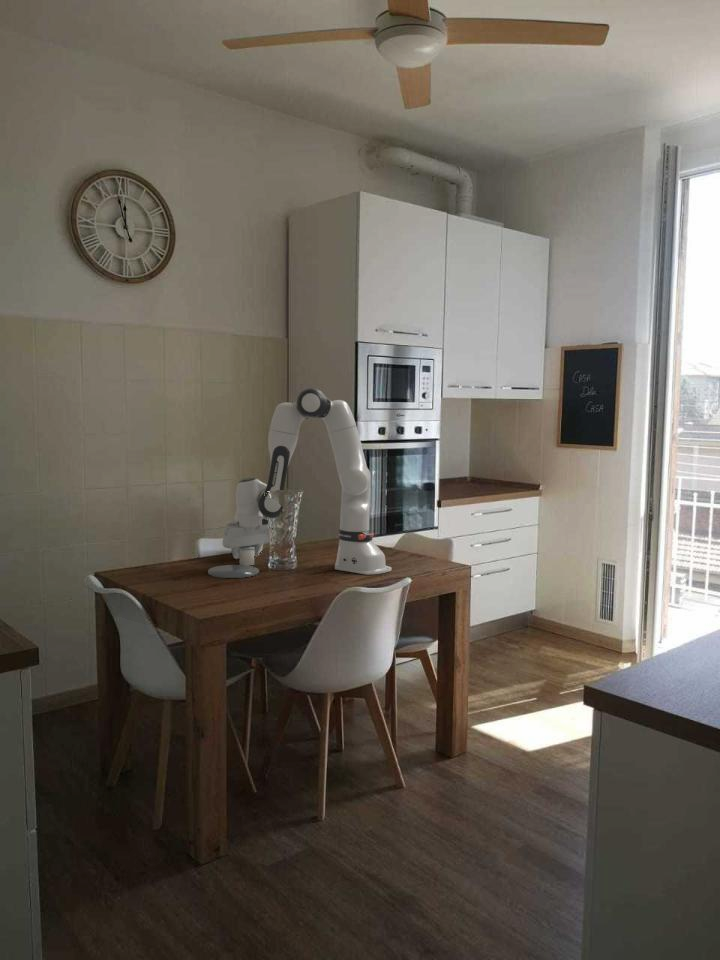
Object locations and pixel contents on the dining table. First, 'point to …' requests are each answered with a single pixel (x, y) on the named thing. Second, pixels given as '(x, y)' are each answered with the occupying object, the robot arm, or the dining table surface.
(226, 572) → the disc
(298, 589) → the dining table surface
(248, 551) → the cup
